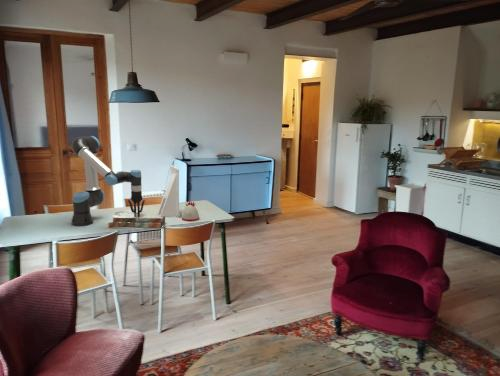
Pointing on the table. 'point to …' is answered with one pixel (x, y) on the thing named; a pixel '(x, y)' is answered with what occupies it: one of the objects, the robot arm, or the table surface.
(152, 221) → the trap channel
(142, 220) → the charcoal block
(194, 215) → the beige rounded dome
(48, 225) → the table surface
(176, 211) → the white bracket plate
